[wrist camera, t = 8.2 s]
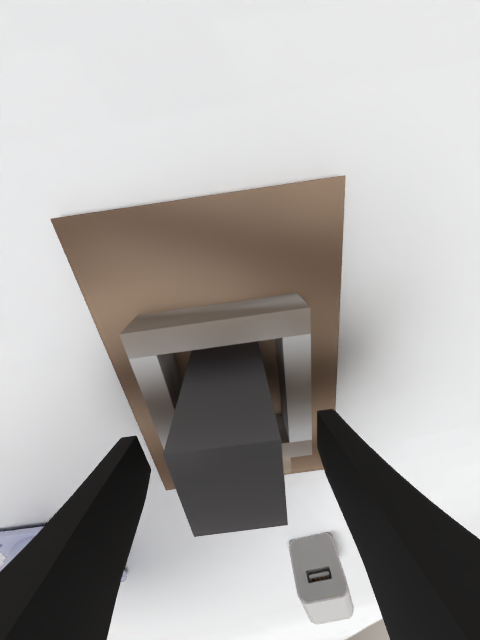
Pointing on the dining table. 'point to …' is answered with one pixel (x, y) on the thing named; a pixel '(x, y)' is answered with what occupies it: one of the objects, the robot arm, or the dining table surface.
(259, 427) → the plug
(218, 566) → the dining table surface
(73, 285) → the dining table surface
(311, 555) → the usb wall charger
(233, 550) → the dining table surface
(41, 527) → the robot arm
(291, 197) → the socket dock
